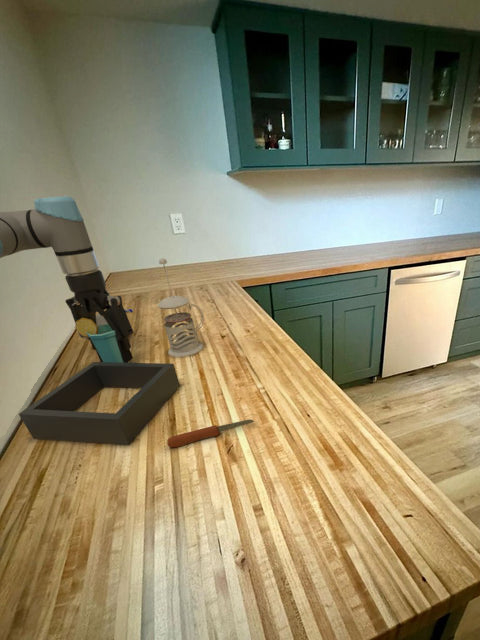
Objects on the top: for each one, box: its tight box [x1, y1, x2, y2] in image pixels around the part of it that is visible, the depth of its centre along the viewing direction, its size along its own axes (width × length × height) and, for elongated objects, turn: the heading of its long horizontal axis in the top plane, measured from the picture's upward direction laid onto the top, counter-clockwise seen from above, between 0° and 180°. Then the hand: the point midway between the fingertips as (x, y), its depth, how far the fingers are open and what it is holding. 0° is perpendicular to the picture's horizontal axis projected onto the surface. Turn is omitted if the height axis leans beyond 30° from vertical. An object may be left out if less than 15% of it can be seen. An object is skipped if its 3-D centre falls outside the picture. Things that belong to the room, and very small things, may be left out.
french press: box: [157, 258, 205, 358], centre depth 90 cm, size 10×12×25 cm
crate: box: [18, 361, 181, 446], centre depth 70 cm, size 21×20×6 cm
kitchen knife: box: [166, 419, 255, 448], centre depth 61 cm, size 16×1×2 cm, turn 109°
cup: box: [74, 308, 133, 363], centre depth 86 cm, size 14×8×15 cm, turn 111°
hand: (116, 360), depth 89 cm, fingers closed on cup, 6 cm apart
